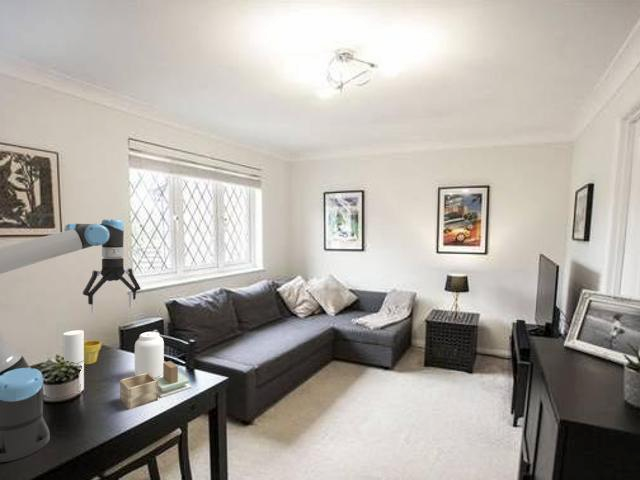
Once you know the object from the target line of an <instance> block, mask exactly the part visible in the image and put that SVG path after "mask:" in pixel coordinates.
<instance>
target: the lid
mask: <svg viewBox="0 0 640 480" xmlns="http://www.w3.org/2000/svg"><path fill="white" fill-rule="evenodd" d="M178 368H179V366H178V365H177V364H176V363H174V362H173V361H171V360H168V361H164V363H163V374H162V376H159V377H157V378H155V379H156V380H158V388H159V389H160V390H161V391H163V392H164V393H165V392H168V391H171V390H174V389H177V388H180V387H184V384H189V383H190V380H189V379H188V378H187V377H185V376H184V375H182V374H181V373H179V371H178V370H179V369H178Z"/></svg>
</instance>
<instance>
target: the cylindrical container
mask: <svg viewBox="0 0 640 480" xmlns="http://www.w3.org/2000/svg"><path fill="white" fill-rule="evenodd" d="M84 332H85V330H81V329H79V330H77V329H76V330H70V331H65V332H64V333H63V335H62V338H63V339H62V340H63V341H62V343H63V345H62V347H63V350H62V353H63V356H62V357H63V358H64V360H66V361H69V362H74V363H77V364H79V365H81V366H82V369H81V371H80V384H81V391H80V392H79V393H81V392H82V391H84V389H85V370H84V369H85V367H84V366H85V364H84V342H85V339H84V338H85V334H84Z"/></svg>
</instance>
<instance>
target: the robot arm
mask: <svg viewBox="0 0 640 480" xmlns="http://www.w3.org/2000/svg"><path fill="white" fill-rule="evenodd" d="M124 227H125V226H124V221H123V220H121V219H102V220H101V223H68V224H66V225H65V227H64V231H59V232H56V233H53V234H48V235H46V236H41V237H38V238H33V239H30V240H25V241H21V242H17V243H14V244H9V245H6V246H5V245H4V246H2V247H0V275H1V274H4V273H7V272H10V271H14V270H17V269H20V268H24V267H27V266H31V265H34V264H37V263H41V262H44V261H47V260H51V259H54V258H58V257H61V256H63V255H67V254H71V253H73V252H77V251H79V250H83V249H88V248H90V247H98V246H101V257H102V259H101V270H94V269H93V270H92V273H91V274H92V275H91V277H90V278H89V281H88V282H87V284H86V286H85V288H84V289H83V291H82V295H84V296H87V298H88V299H87V303H88V305H89V306H90V307H91V308H90V309H91V310H90V311H91V312H90V313H92V314H95V313H96V295H95V294H96V293H97V292H98V291H99V289H100V288H101V287H102V286H103V285H104V284H105V283H106V282H107V281H108V282H113V281H119V280H120V281H121V282H122V283H123V284H124V285H125V286H126V287H127V288H128V289H129V290H130V291H128V297H129V298H128V307H129V308H130V309H133V308H134V300H136V297H137V295H136V293H137V291H140V290H141V289H142V288H141V286H140V284H139V283H138V281H137V279H136V277H135V275H134V274H133V268H129V267H128V268H126V269H125V268H124V265H125V264H124V263H125V262H124V236H125V235H124V233H125V230H124ZM124 274H126V275H128V278H129V279H130V280H131V283H132V284H133V285H132V284H131V283H129V282H128V280H127V279H126V278H125V277H124V276H123V275H124ZM100 275H101V276H102V277H101V278H100V280H98V282H97V283H96V284H95V285H94V283H95V281H96V280H97V278H98V277H99V276H100ZM93 285H94V286H93ZM92 287H93V288H92ZM43 384H44V378H43V373H42V372H41V371H40V369H37V368H32V367H31V366H30V365H29V364H28V362H27V361H26V359H25V357H24V356H23V355H22V353H19V352H14V351H13V349H11V347H10V345H9V344H8V342H7V340H6V339H5V338H4V336H3V335H2V333H1V332H0V463H5V462H6V463H7V462H13V461H17V460H19V459H22V458H25V457H28V456H30V455H32V454H34V453H36V452H38V451H40V450H42V448H44V447H45V446H47V444H48V443H49V441H50V429H49V427H48V425H47V423H46V421H45V419H44V417H43V416H44V413H43V411H44V409H43V405H44V404H43V398H44V397H43V390H44V389H43V387H44V386H43Z"/></svg>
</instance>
